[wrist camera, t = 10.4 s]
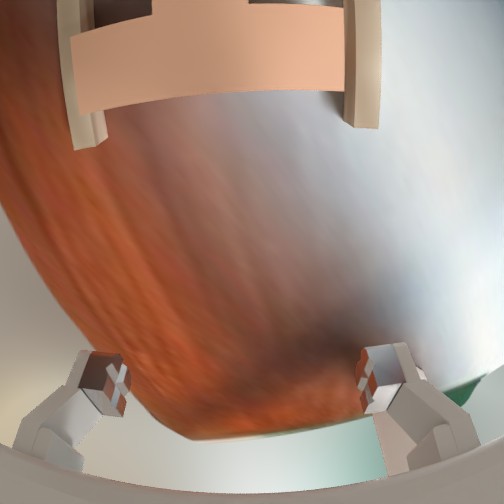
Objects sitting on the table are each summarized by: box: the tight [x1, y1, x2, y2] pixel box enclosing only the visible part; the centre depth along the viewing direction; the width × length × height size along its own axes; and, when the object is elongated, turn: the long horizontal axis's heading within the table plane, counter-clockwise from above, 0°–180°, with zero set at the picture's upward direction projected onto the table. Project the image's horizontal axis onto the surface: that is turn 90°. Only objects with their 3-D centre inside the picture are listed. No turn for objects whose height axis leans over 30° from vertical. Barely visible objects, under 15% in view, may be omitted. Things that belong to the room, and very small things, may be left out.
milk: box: [372, 367, 427, 476], centre depth 25 cm, size 6×6×22 cm
